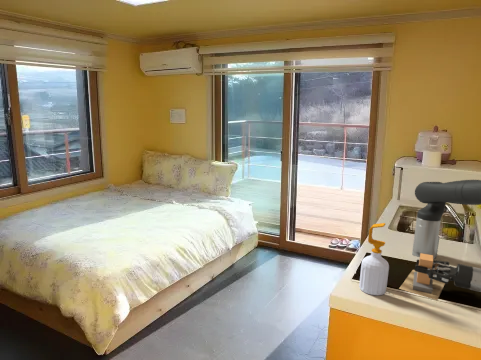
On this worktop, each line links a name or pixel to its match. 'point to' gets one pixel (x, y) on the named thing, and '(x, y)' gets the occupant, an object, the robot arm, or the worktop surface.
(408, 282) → the oak board
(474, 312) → the worktop surface
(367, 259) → the soap bottle
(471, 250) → the worktop surface
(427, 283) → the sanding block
